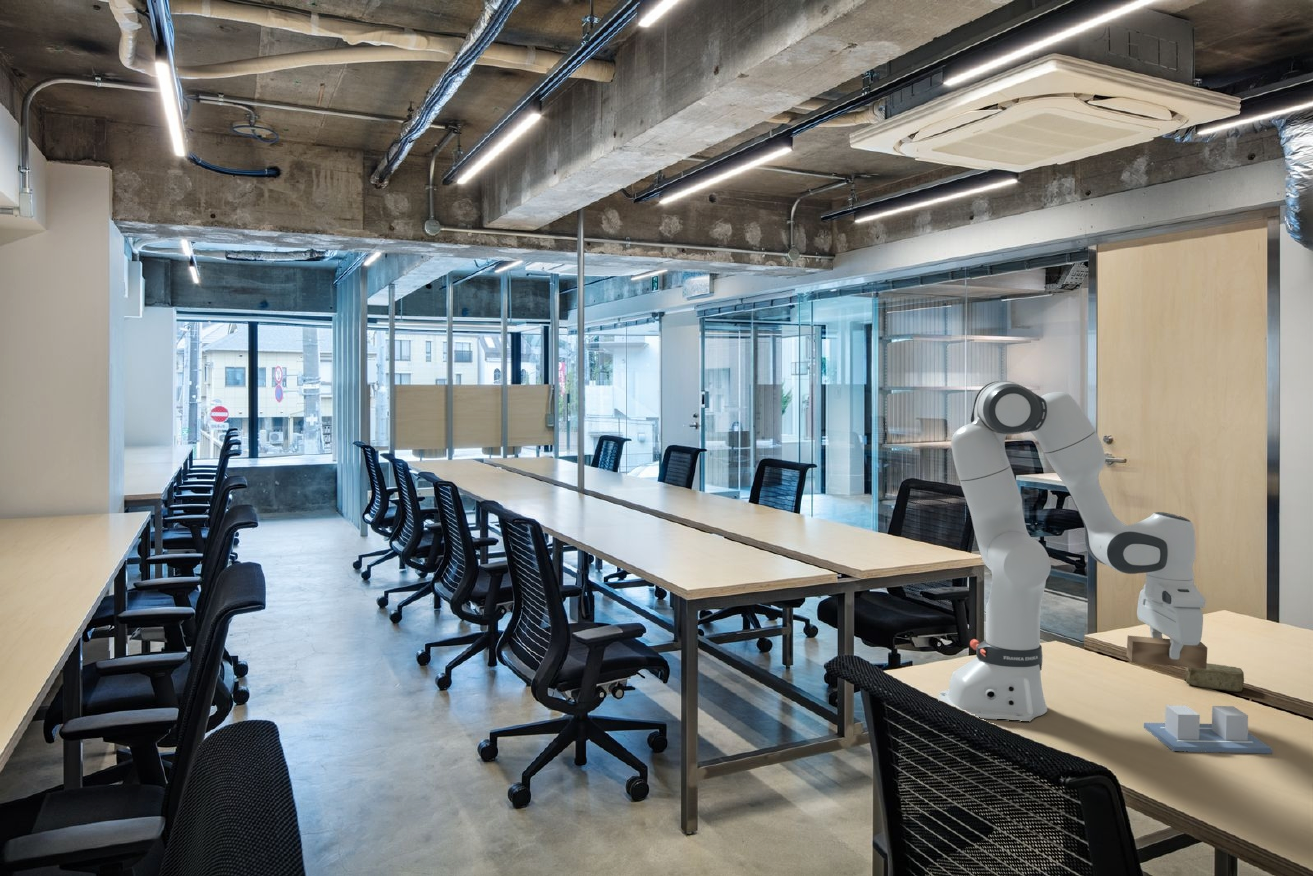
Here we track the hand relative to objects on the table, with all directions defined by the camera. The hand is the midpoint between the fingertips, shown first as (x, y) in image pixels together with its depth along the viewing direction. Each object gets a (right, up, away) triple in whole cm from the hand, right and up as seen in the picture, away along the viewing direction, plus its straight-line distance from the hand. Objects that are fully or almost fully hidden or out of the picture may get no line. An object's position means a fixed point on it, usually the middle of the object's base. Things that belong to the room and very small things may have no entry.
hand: (1165, 653), depth 186 cm
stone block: (+22, -12, +18) cm, 31 cm away
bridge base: (+1, -14, -12) cm, 19 cm away
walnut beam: (0, -2, 0) cm, 2 cm away
